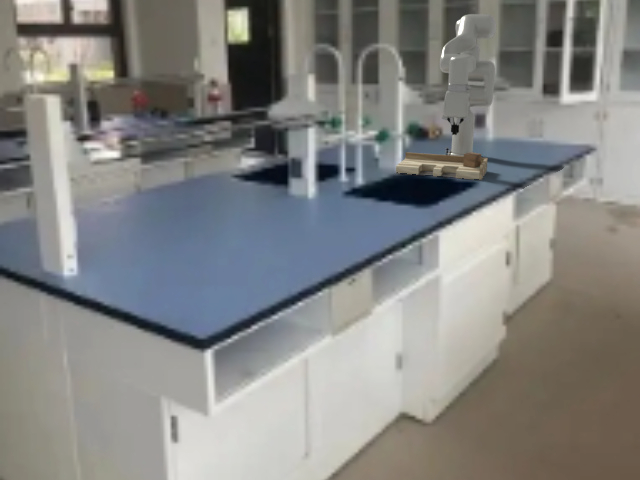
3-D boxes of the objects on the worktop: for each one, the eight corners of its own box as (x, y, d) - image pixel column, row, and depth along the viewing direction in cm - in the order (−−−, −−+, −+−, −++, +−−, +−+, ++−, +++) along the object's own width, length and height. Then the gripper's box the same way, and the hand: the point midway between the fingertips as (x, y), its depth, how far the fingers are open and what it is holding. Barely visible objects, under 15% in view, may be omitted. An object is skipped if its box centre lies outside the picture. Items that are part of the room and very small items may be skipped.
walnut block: (469, 164, 287) (470, 152, 285) (480, 166, 283) (481, 153, 282) (463, 166, 283) (464, 153, 281) (474, 168, 280) (475, 155, 278)
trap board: (405, 165, 299) (406, 152, 298) (486, 171, 289) (487, 158, 287) (395, 173, 283) (396, 159, 281) (481, 180, 272) (482, 166, 271)
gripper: (477, 88, 280) (474, 133, 286) (440, 86, 284) (437, 131, 290) (475, 90, 273) (472, 137, 279) (437, 88, 278) (434, 134, 284)
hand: (454, 134), depth 285 cm, fingers closed
